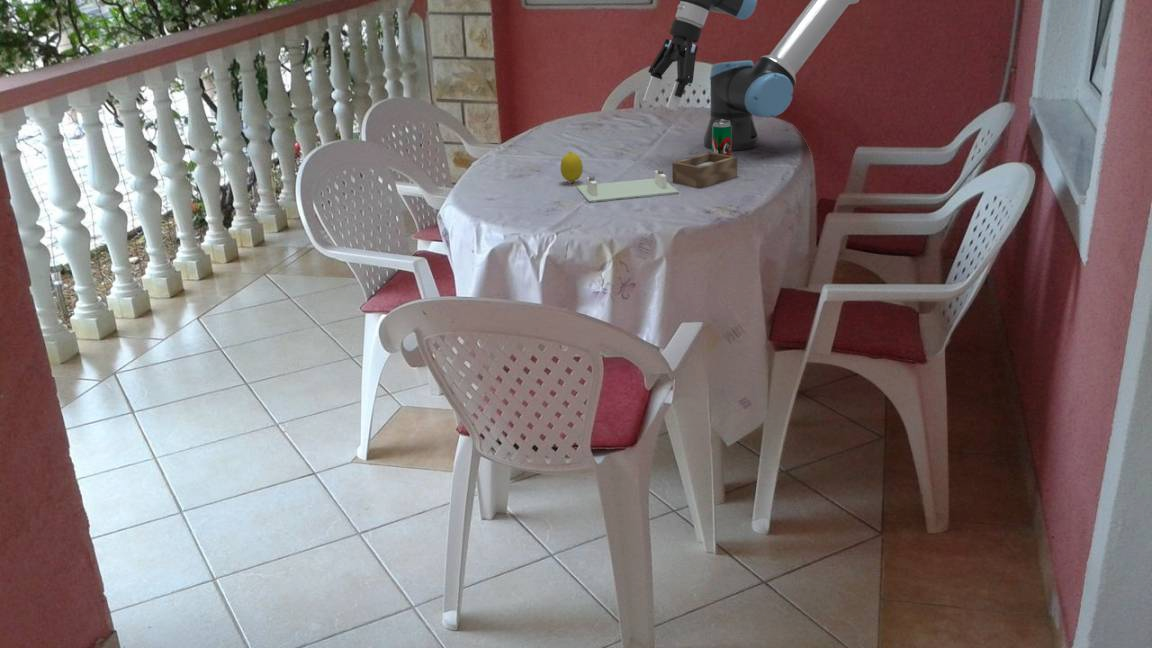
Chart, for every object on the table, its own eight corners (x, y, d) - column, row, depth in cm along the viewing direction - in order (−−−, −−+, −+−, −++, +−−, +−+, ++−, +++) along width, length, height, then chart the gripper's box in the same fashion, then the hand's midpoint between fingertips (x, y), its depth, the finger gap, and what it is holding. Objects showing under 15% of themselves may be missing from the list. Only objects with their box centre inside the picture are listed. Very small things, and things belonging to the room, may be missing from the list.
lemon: (567, 187, 256) (565, 155, 253) (557, 182, 261) (556, 151, 258) (587, 183, 259) (585, 152, 255) (576, 179, 263) (575, 148, 260)
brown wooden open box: (709, 171, 265) (709, 152, 263) (737, 176, 258) (737, 157, 257) (672, 182, 256) (672, 162, 254) (699, 188, 250) (699, 168, 248)
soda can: (733, 165, 269) (734, 119, 264) (728, 170, 265) (728, 123, 260) (715, 164, 271) (715, 118, 266) (709, 169, 267) (709, 122, 262)
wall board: (661, 179, 259) (661, 162, 258) (678, 193, 246) (678, 176, 245) (576, 188, 255) (575, 171, 254) (589, 202, 243) (588, 185, 241)
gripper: (654, 15, 267) (626, 94, 271) (699, 21, 245) (669, 107, 249) (678, 25, 270) (650, 103, 274) (725, 31, 248) (694, 116, 252)
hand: (659, 105), depth 262 cm, fingers open, 13 cm apart
